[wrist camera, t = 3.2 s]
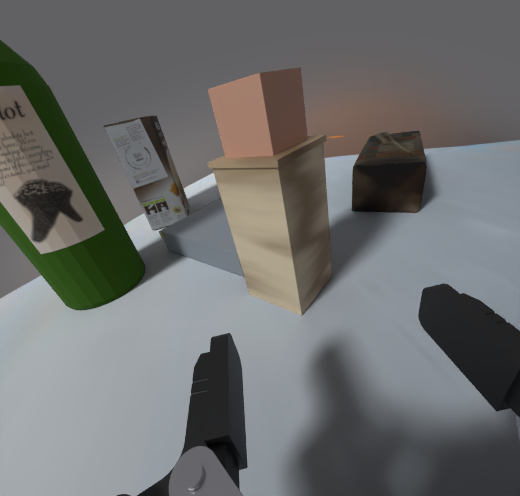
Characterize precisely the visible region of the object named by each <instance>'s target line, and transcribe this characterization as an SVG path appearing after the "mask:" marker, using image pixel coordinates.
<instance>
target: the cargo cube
mask: <svg viewBox="0 0 520 496" xmlns="http://www.w3.org/2000/svg"><path fill="white" fill-rule="evenodd" d="M302 87H303V86H302V76H301V68H293V69H285V70H278V71H270V72H263V73H258V74H255V75H251V76H248V77H246V78H242V79H239V80H236V81H232V82H229V83H226V84H223V85H220V86H217V87H214V88H211V89H208V91H209V96H210V99H211V103H212V107H213V111H214V115H215V119H216V122H217V126H218V130H219V134H220V138H221V142H222V145H223V149H224V153H225V157H226V158H239V157H259V156H274V155H276V154H278V153H280V152H282V151H284V150H286V149H288V148H290V147H292V146H294V145H296V144H298V143H300V142H302V141H304V140H306V139H308V138H307V128H306V118H305V107H304V97H303V88H302Z"/></svg>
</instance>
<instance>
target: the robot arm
mask: <svg viewBox="0 0 520 496" xmlns="http://www.w3.org/2000/svg"><path fill="white" fill-rule="evenodd" d="M419 321H420V323H421V325H422V327H423V328H424V330H425V331H426V332H427V333H428V334H429V335H430V337H431V338H432V339H433V340H434V341H435V342H436V343H437V344H438V346H439V347H440V348H441V349H442V350H443V351H444V352H445V354H446V355H447V356H448V357H449V358H450V359H451V360H452V361H453V363H454V364H455V365H456V366H457V367H458V368H459V369H460V371H461V372H462V373H463V374H464V375H465V376H466V377H467V379H468V380H469V381H470V382H471V383H472V384H473V385H474V386H475V388H476V389H477V390H478V391H479V392H480V393H481V394H482V396H483V397H484V398H485V399H486V400H487V401H488V402H489V403H490V405H491V406H492V407H493V408H494V409H495V410H496V411H500V410H505V409H509V408H511V409H512V410H513V411H514V412H515V413H516V414H517V416H516V425H517V430H518V435H519V440H520V331H519V330H518V329H516V328H515V327H514V326H512V325H511V324H510V323H507V322H506V320H505V319H503V318H502V317H501V316H499V315H498V314H495V313H494V311H493V310H492V309H490V308H489V307H488V306H487V305H485V304H484V303H483V302H481V301H480V300H477V299H475V298H473V297H471V296H469V295H467V294H464V293H463V294H459V293H458V292H457V291H456V290H455V289H453V288H452V287H451V286H449V285H448V284H440V285H435V286H431V287H427V288H424V289H423V291H422V297H421V302H420V308H419ZM245 468H247V451H246V433H245V415H244V397H243V379H242V367H241V361H240V357H239V354H238V351H237V349H236V346H235V344H234V341H233V339H232V336H231V334H230V333H227V334H223V335H219V336H215V337H212V338H211V345H210V352H207V353H203V354H201V355H200V357H199V359H198V361H197V363H196V365H195V367H194V373H193V384H192V389H191V397H190V405H189V413H188V421H187V428H186V436H185V443H184V448H183V451H182V454H181V456H180V458H179V460H178V461H177V463H176V464H175V466H174V468H173V469H172V470H171V471H170V473H168V474H167V475H166V476H165V477H164V478H163V479H161V480H160V481H158V482H157V483H155V484H154V485H152V486H151V487H149V488H148V489H146V490H145V491H143V492H142V493H140V494H139V495H137V496H243V495H242V493H241V492H240V490H239V470H241V469H245ZM117 496H130V495H127V494H121V495H117Z"/></svg>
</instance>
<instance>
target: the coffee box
mask: <svg viewBox="0 0 520 496" xmlns="http://www.w3.org/2000/svg"><path fill="white" fill-rule="evenodd" d="M104 128H105V130H106V132H107V134H108V136H109V138H110V140H111V142H112V145H113V147H114V149H115V151H116V153H117V155H118V158H119V159H120V162H121V164H122V166H123V168H124V170H125V172H126V175H127V176H128V179H129V181H130V183H131V185H132V187H133V189H134V191H135V194H136V196H137V198H138V200H139V202H140V204H141V207H142V209H143V211H144V213H145V215H146V217H147V219H148V222H149V224H150V226H151V228H152V230H156V229H159V228H163V227H166V226H170V225H172V224H174V223H175V222H177V221H179V220H181V219H183V218H185V217H186V216H188V211H189V203H188V201H187V198H186V195H185V192H184V189H183V187H182V184H181V181H180V179H179V176H178V173H177V171H176V168H175V165H174V162H173V160H172V157H171V154H170V151H169V149H168V146H167V143H166V141H165V138H164V135H163V132H162V130H161V127H160V124H159V121H158V119H157V116H145V117H140V118H136V119H131V120H127V121H123V122H118V123H115V124H110V125H104Z"/></svg>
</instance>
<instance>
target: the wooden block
mask: <svg viewBox="0 0 520 496" xmlns="http://www.w3.org/2000/svg"><path fill="white" fill-rule="evenodd" d="M307 138H308V139H306V140H304V141H302V142H300V143H298V144H296V145H294V146H292V147H290V148H288V149H286V150H284V151H282V152H280V153H278V154H276V155H274V156H259V157H239V158H226V157H225V156H222V157H220V158H217V159H215V160H212V161H210V162H208V166H209V168H213V171H214V175H215V178H216V182H217V185H218V189H219V192H220V195H221V199H222V202H223V206H224V209H225V213H226V216H227V219H228V223H229V226H230V230H231V233H232V236H233V240H234V243H235V247H236V250H237V253H238V257H239V260H240V264H241V267H242V270H243V274H244V277H245V281H246V284H247V287H248V291H249V294H250V295H252V296H254V297H257V298H259V299H262V300H264V301H267V302H269V303H272V304H274V305H277V306H279V307H282V308H284V309H287V310H289V311H292V312H294V313H296V314H299V315H301V316H302V315H303V313H304V312H305V311H306V309H307V308H308V307H309V305H310V304H311V303H312V301H313V300H314V299H315V297H316V296H317V295H318V293H319V292H320V291H321V289H322V288H323V287H324V285H325V284H326V283H327V281H328V280H329V279H330V277H331V276H332V264H331V249H330V234H329V219H328V204H327V189H326V174H325V159H324V144H323V142H325V141H326V135H317V136H307Z"/></svg>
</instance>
